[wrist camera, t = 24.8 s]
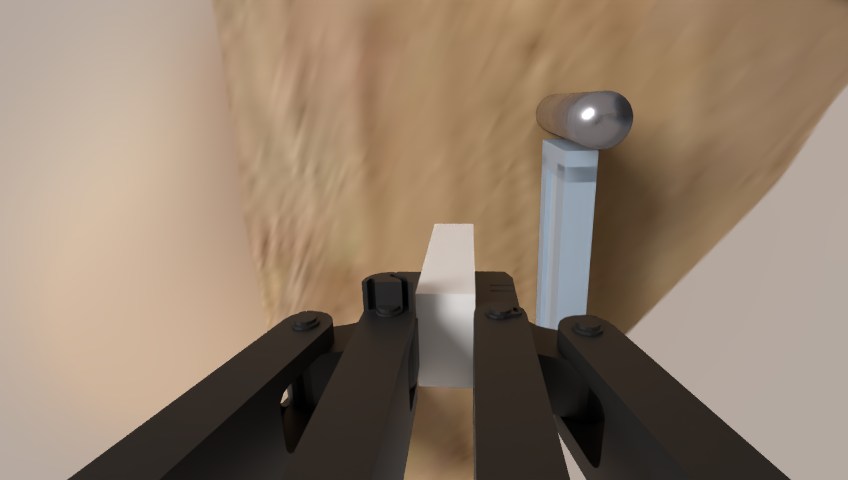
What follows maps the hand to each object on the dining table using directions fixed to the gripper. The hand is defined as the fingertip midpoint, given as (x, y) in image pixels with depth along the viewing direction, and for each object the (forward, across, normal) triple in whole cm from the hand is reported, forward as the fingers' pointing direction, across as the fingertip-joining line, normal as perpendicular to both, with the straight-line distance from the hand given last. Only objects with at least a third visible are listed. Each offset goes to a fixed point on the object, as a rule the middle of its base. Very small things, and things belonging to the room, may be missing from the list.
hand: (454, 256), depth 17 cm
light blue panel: (+21, -8, +7) cm, 24 cm away
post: (+22, -8, -5) cm, 24 cm away
